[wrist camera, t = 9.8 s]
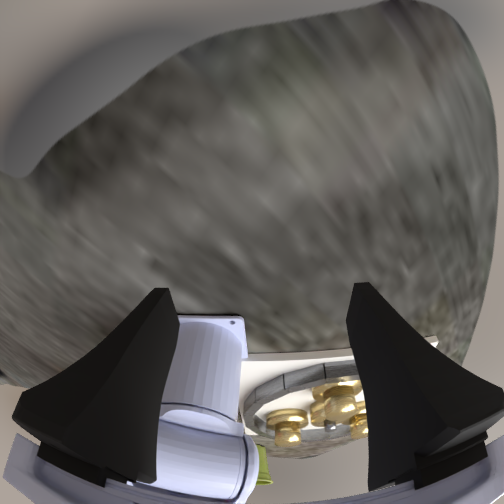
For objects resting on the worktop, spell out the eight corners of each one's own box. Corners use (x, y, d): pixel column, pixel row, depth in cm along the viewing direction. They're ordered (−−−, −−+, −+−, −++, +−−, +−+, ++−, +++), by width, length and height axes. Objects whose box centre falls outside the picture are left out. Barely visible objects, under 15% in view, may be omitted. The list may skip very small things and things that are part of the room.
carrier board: (246, 429, 40) (245, 434, 40) (228, 353, 27) (228, 361, 27) (379, 418, 39) (380, 422, 38) (435, 335, 26) (438, 341, 25)
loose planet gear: (308, 394, 30) (311, 426, 27) (314, 370, 27) (319, 406, 23) (354, 390, 30) (359, 420, 26) (366, 365, 27) (375, 399, 23)
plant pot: (269, 452, 50) (269, 485, 42) (227, 450, 49) (225, 483, 42) (276, 441, 44) (276, 480, 37) (228, 439, 44) (225, 478, 37)
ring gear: (250, 433, 39) (249, 443, 37) (236, 365, 27) (235, 381, 25) (377, 421, 38) (379, 431, 36) (431, 347, 26) (436, 360, 24)
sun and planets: (266, 423, 36) (266, 449, 32) (265, 401, 31) (265, 431, 28) (371, 413, 35) (376, 437, 31) (389, 388, 30) (396, 416, 27)
